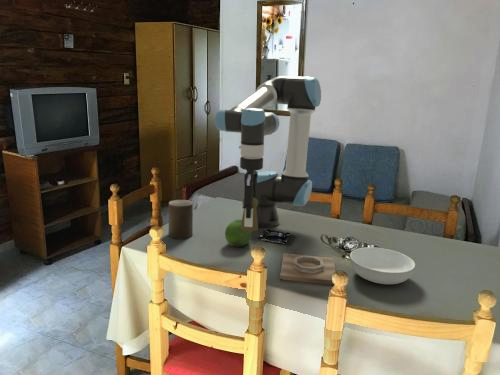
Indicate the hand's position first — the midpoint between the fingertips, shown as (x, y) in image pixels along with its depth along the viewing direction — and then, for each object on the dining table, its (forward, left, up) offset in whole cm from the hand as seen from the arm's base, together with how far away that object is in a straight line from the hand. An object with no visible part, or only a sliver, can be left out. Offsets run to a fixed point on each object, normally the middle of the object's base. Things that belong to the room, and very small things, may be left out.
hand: (249, 223), depth 143 cm
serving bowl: (0, +45, -15) cm, 47 cm away
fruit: (-18, -6, -15) cm, 24 cm away
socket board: (0, +21, -15) cm, 26 cm away
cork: (0, 0, -2) cm, 2 cm away
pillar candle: (-22, -31, -15) cm, 41 cm away
